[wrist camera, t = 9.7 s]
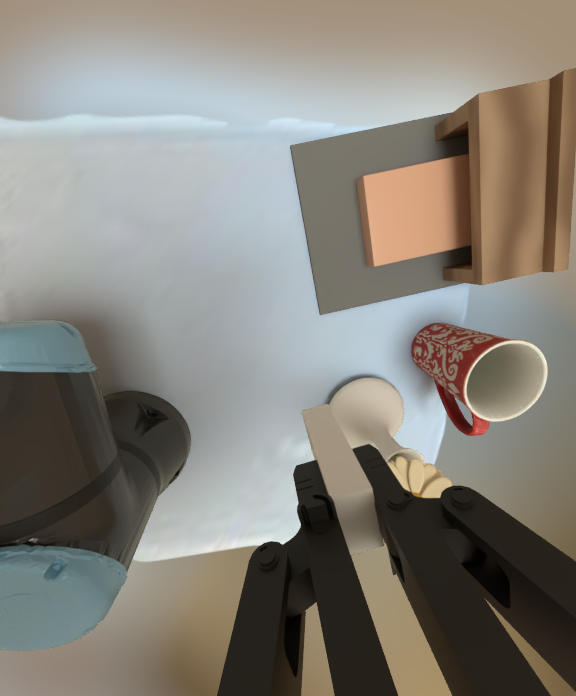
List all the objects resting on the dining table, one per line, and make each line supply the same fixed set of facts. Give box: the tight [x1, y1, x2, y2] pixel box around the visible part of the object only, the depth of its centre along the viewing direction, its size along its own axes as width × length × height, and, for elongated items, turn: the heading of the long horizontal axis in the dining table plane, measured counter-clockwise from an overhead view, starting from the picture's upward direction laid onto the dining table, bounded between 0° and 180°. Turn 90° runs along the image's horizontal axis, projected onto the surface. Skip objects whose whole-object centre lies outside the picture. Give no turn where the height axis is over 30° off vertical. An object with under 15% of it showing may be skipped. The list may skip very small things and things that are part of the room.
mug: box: [412, 323, 547, 436], centre depth 39 cm, size 13×9×14 cm
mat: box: [291, 113, 472, 315], centre depth 39 cm, size 28×20×1 cm
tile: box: [356, 154, 472, 267], centre depth 38 cm, size 14×10×3 cm
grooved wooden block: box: [435, 68, 576, 285], centre depth 35 cm, size 9×18×9 cm, turn 12°
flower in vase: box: [329, 378, 452, 547], centre depth 34 cm, size 13×11×25 cm
